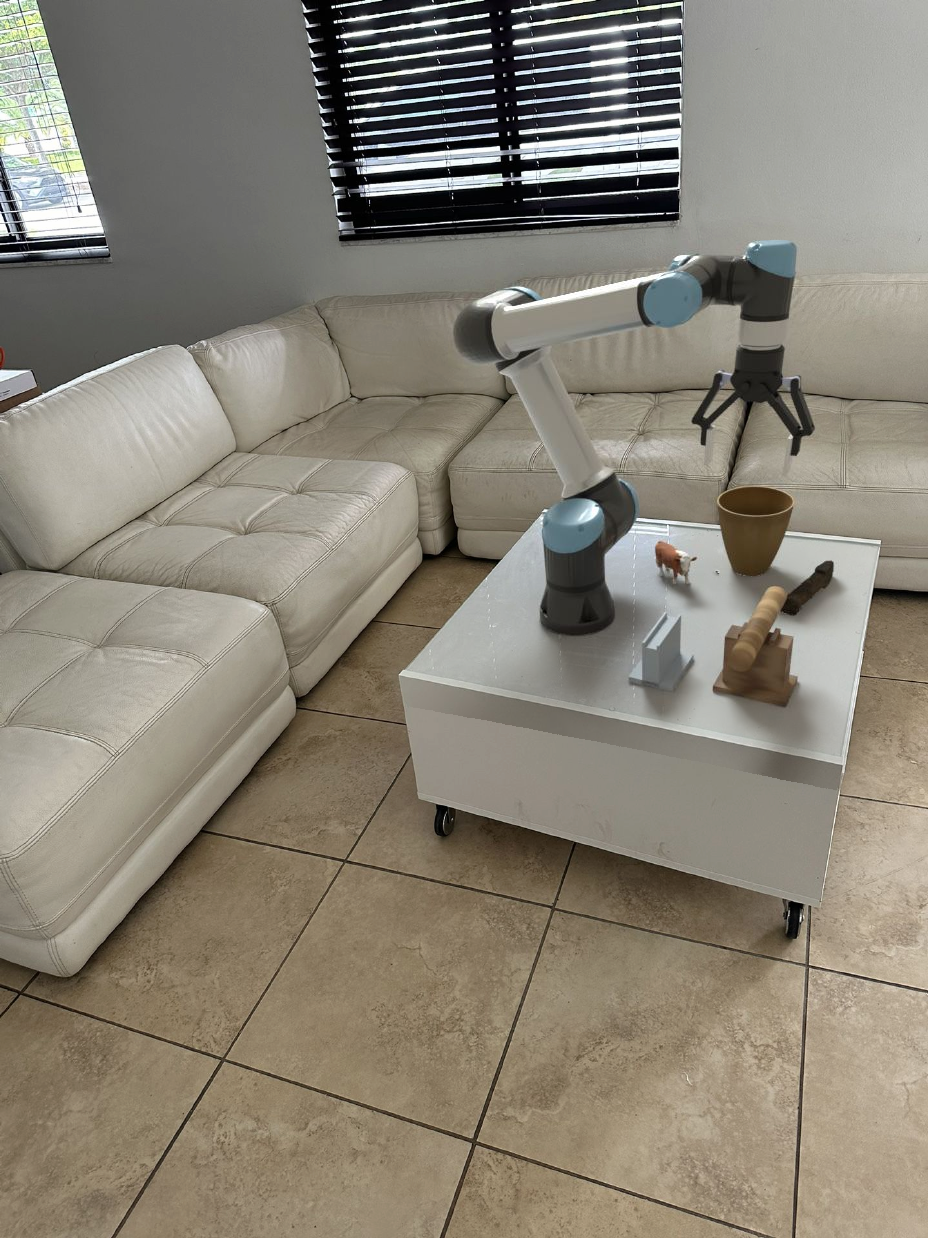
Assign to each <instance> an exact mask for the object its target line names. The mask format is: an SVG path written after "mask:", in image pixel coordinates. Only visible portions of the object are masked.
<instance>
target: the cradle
mask: <svg viewBox="0 0 928 1238" xmlns="http://www.w3.org/2000/svg"><path fill="white" fill-rule="evenodd" d="M681 627H682V614H678V615H677V616H675V617H674V616H669V615H668V611H664V612H663V614H662V615H661V616H660V617H659V619H658V620H657V622H656V623H655V624H654V626H653V627H652V628H651V630H650V631H649V632H648V634H647V635H646V637H644V639H643V640H642V642H641V659H640V661H639V662H637V664H636V666H635V667H634V668H633V670H632V671H631V672H630V674H629V676H628V682H629V683H634V684H638V685H643V686H646V687H652V688H654V689H655V688H656V689H659V690H662V691H668V692H672V693H673V692H674V690H675V689H676V687H677V686H678V684H679V683H680V681H681V679H682V678H683V676H684V675H685V673H686V671H687V670H688V668H689V666H690V665H691V663H692V662H693V660H694V659H695V658H694V657H695V656H694V653H689V652H686V651H681V637H682V636H681V633H682V632H681V630H682V628H681Z"/></svg>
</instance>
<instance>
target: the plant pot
mask: <svg viewBox="0 0 928 1238" xmlns="http://www.w3.org/2000/svg"><path fill="white" fill-rule="evenodd" d="M716 504H717V513H718V514H717V515H718V520H719V521H718V522H719V528H720V532H721V533H720V534H721V537H722V542H723V546H724V549H725V552H726V557H727V559H728V562H729V564H730V567H731V569H732V571H733V572H734V573H735V572H736V574H737V573H738V574H737V575H739V574H741V575H740V576H743V575H745V576H744V577H751V576H752V577H759V576H758V575H760V576H762V575H761V574H763V575H764V573H765V574H767V572H768V571H769V570H770V568H771V565H773V562H774V560H775V559H776V556H777V554H778V552H779V550H780V549H781V546H782V543H783V542H784V541H783V540H784V538H785V535H786V533H787V530H788V527H789V524H790V520H791V517H792V513H793V509H794V507H795V499H794V497H793V496H792V495H791V494H789V493H788V492H786V491H784V490H781V489H778V488H774V487H769V486H760V485H747V486H739V487H738V486H737V487H734V488H731V489H728V490H725V491H724V492H722V493H721V494H719V496H718V497H717V500H716Z"/></svg>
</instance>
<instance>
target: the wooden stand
mask: <svg viewBox="0 0 928 1238" xmlns="http://www.w3.org/2000/svg"><path fill="white" fill-rule="evenodd" d="M747 623H748V622H746V621H744V622H743V625H742V626H740V625H734V624H731V626H730V627H729V629H728V630H727V632H726V633H725V636H724V647H723V660H722V661H723V662H722V669H721V671H720V673H719V674H718V676H717V677H716V679H715V681H714V683H713V685H712V691H714V692H718V693H722V694H727V695H731V696H735V697H738V698H744V699H747V700H753V701H757V702H761V703H766V704H770V705H775V706H778V707H782V708H786V707H787V705H788V703H789V701H790V698H791V696H792V694H793V692H794V689H795V687H796V684H797V683H798V676H797V675H793V674H790V673H791V671H790V670H791V663H792V655H793V654H792V653H793V646H794V636H793V635H789V634H782V633H781V631H782V629H781V628H778V627H775V628H774V631H773V632H771V631H769V633H768V635H767V637H766V639H765V641H764V643H763V644H762V646H761V648H760V650H759V652H758V654H757V656H756V658H755V660H754V661H753V663H752V665H751V667H750V668H749V669H748V670H747V671H742V672H741V671H737V670H734V669H733V668H732V667H731V666H730V665H729V663H728V656H729V655H730V653H731V651H732V649H733V648H734V646H735V644H736V642H737V641H738V639H739V637H740V636H741V634H742V632H743V630H744V629H745V627H746V625H747Z"/></svg>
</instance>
